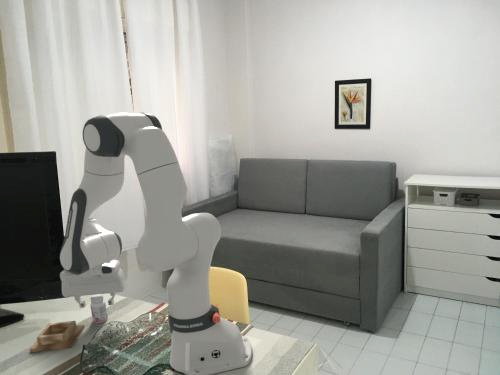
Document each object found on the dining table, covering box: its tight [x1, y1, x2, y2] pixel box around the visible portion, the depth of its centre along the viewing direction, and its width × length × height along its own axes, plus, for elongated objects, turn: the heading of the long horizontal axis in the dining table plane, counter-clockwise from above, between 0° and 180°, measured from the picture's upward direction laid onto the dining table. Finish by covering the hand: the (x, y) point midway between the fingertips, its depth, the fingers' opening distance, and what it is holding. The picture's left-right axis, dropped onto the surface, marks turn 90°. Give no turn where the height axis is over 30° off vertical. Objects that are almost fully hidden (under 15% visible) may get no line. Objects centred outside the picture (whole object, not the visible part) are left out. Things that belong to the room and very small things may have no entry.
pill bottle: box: [89, 294, 108, 324], centre depth 139 cm, size 5×5×8 cm
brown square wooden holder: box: [29, 320, 85, 353], centre depth 130 cm, size 12×12×4 cm
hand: (97, 305), depth 140 cm, fingers open, 8 cm apart
